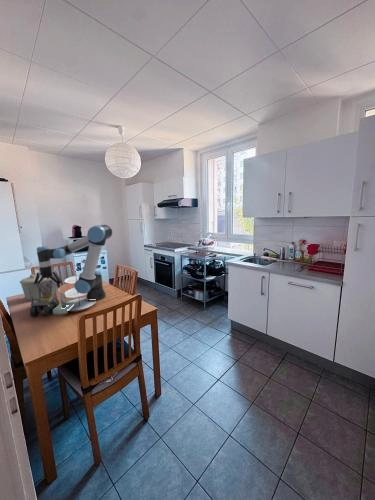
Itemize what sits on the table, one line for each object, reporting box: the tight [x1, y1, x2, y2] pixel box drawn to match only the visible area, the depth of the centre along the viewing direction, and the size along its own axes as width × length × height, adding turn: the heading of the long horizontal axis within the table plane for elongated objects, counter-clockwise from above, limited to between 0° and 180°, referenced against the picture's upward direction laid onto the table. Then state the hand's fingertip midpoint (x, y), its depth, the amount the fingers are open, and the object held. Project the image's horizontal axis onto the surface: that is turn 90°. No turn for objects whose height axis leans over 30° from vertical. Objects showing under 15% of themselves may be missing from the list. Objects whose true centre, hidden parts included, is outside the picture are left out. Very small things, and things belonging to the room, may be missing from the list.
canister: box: [19, 274, 46, 301], centre depth 183 cm, size 18×18×21 cm
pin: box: [60, 292, 67, 308], centre depth 157 cm, size 3×3×12 cm
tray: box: [52, 301, 75, 316], centre depth 158 cm, size 9×13×4 cm
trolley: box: [29, 283, 60, 317], centre depth 154 cm, size 12×16×22 cm
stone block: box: [40, 278, 58, 298], centre depth 169 cm, size 13×7×20 cm, turn 16°
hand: (49, 292), depth 168 cm, fingers open, 13 cm apart
